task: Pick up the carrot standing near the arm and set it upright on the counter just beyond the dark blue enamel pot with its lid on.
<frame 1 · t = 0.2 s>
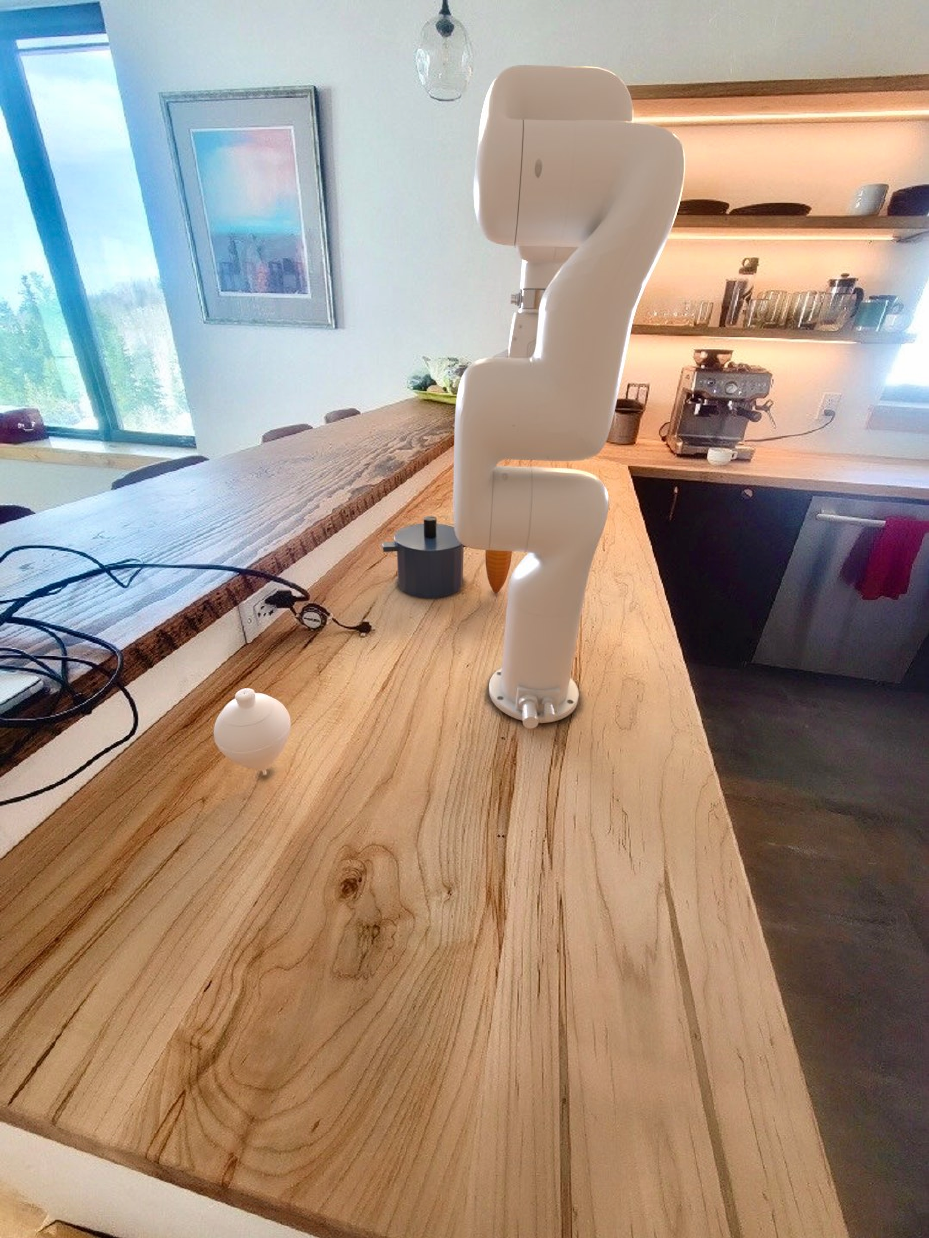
hand: (531, 411, 94), 31 cm above the worktop, tool pointing down, fingers open, 9 cm apart
pot lid: (430, 538, 95), point 9 cm above the worktop, touching pot
carrot: (495, 594, 97), on the worktop
spinning top: (265, 775, 58), on the worktop
pot: (430, 583, 100), on the worktop
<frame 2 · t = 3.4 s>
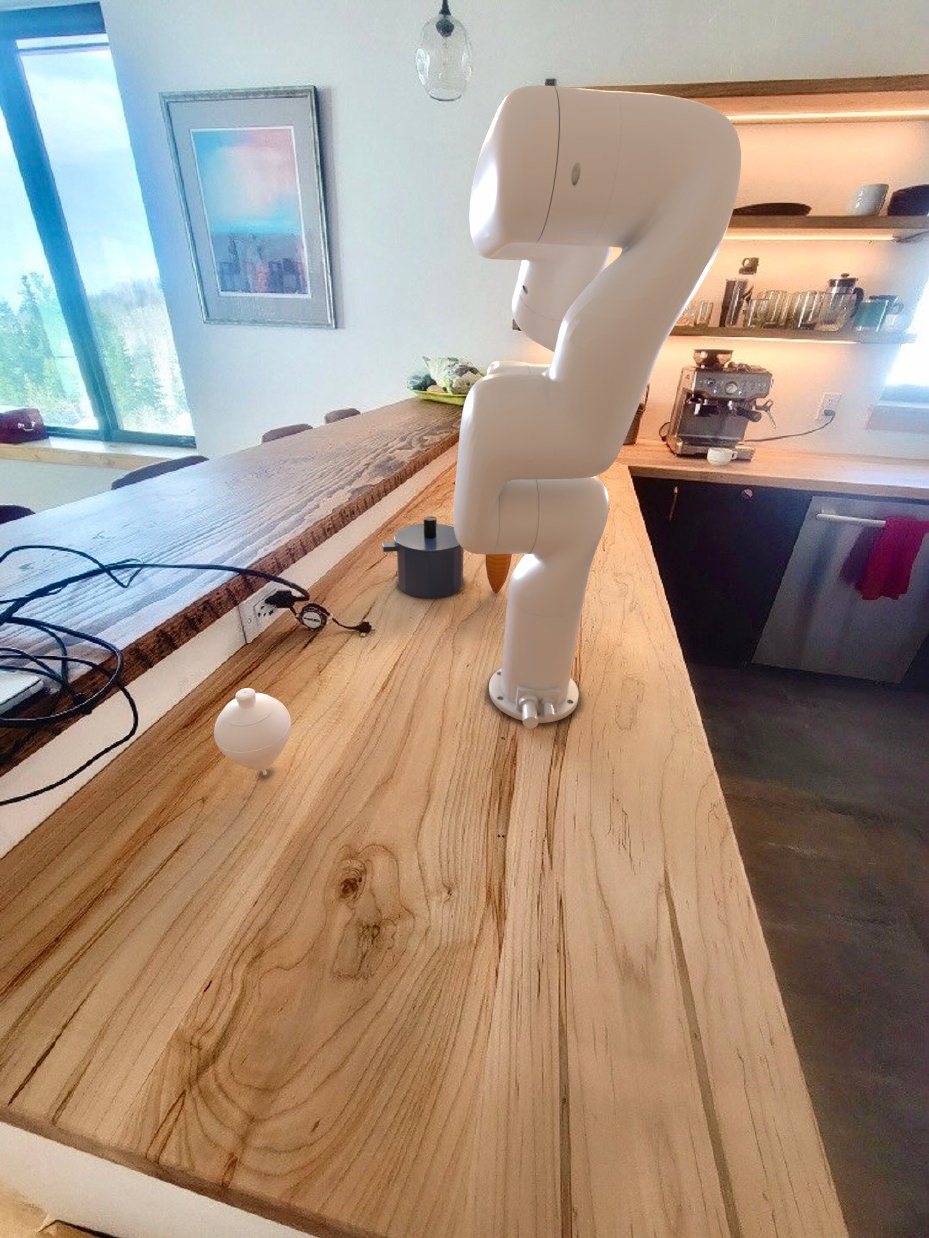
hand: (499, 546, 92), 10 cm above the worktop, tool pointing down, fingers closed on carrot, 4 cm apart
carrot: (495, 594, 97), on the worktop, touching gripper
everything else where it was.
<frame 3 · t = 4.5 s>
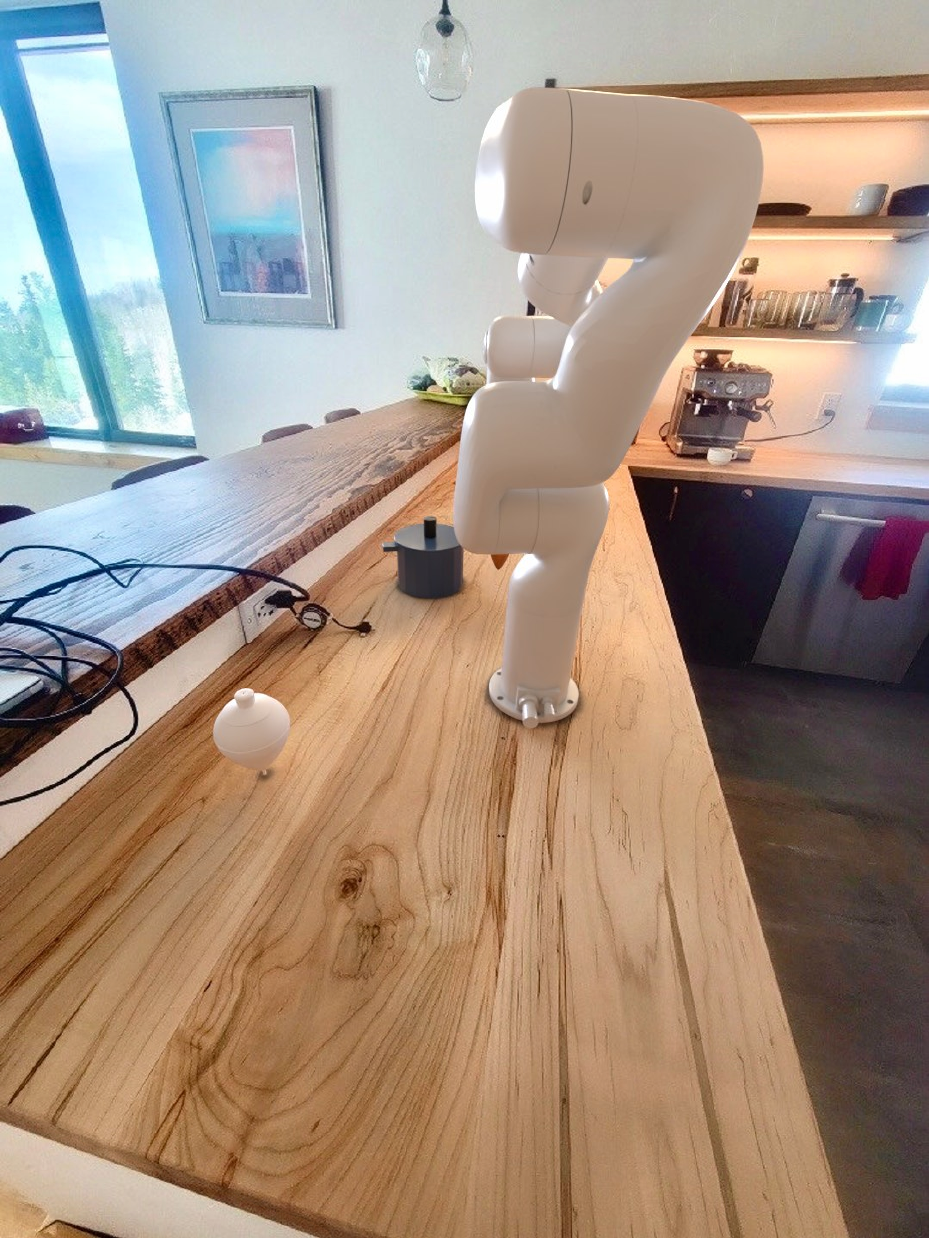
hand: (501, 518, 89), 15 cm above the worktop, tool pointing down, fingers closed on carrot, 4 cm apart
carrot: (498, 570, 94), point 5 cm above the worktop, touching gripper
everything else where it was.
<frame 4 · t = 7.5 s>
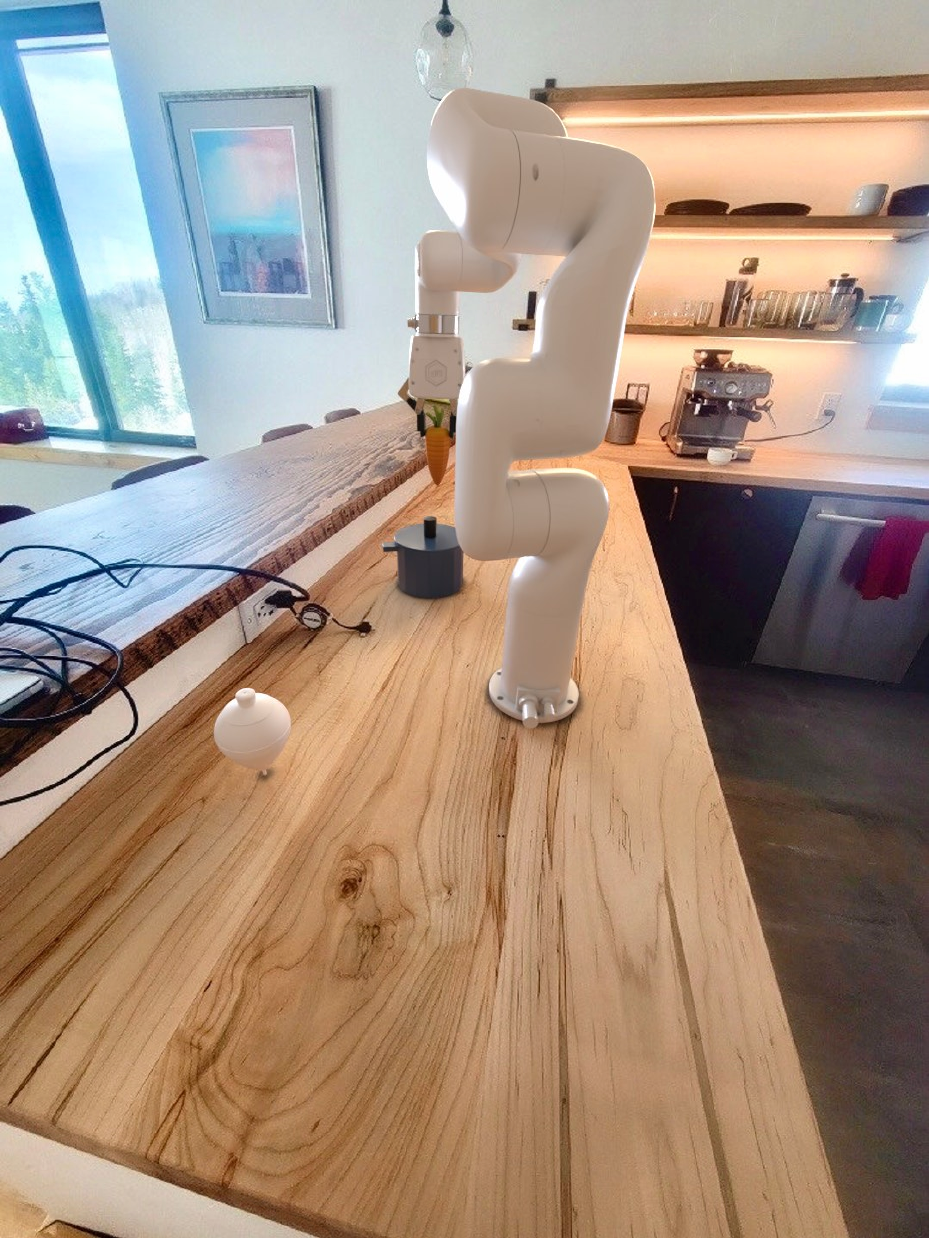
hand: (437, 435, 97), 26 cm above the worktop, tool pointing down, fingers closed on carrot, 4 cm apart
carrot: (437, 486, 102), point 16 cm above the worktop, touching gripper
everything else where it was.
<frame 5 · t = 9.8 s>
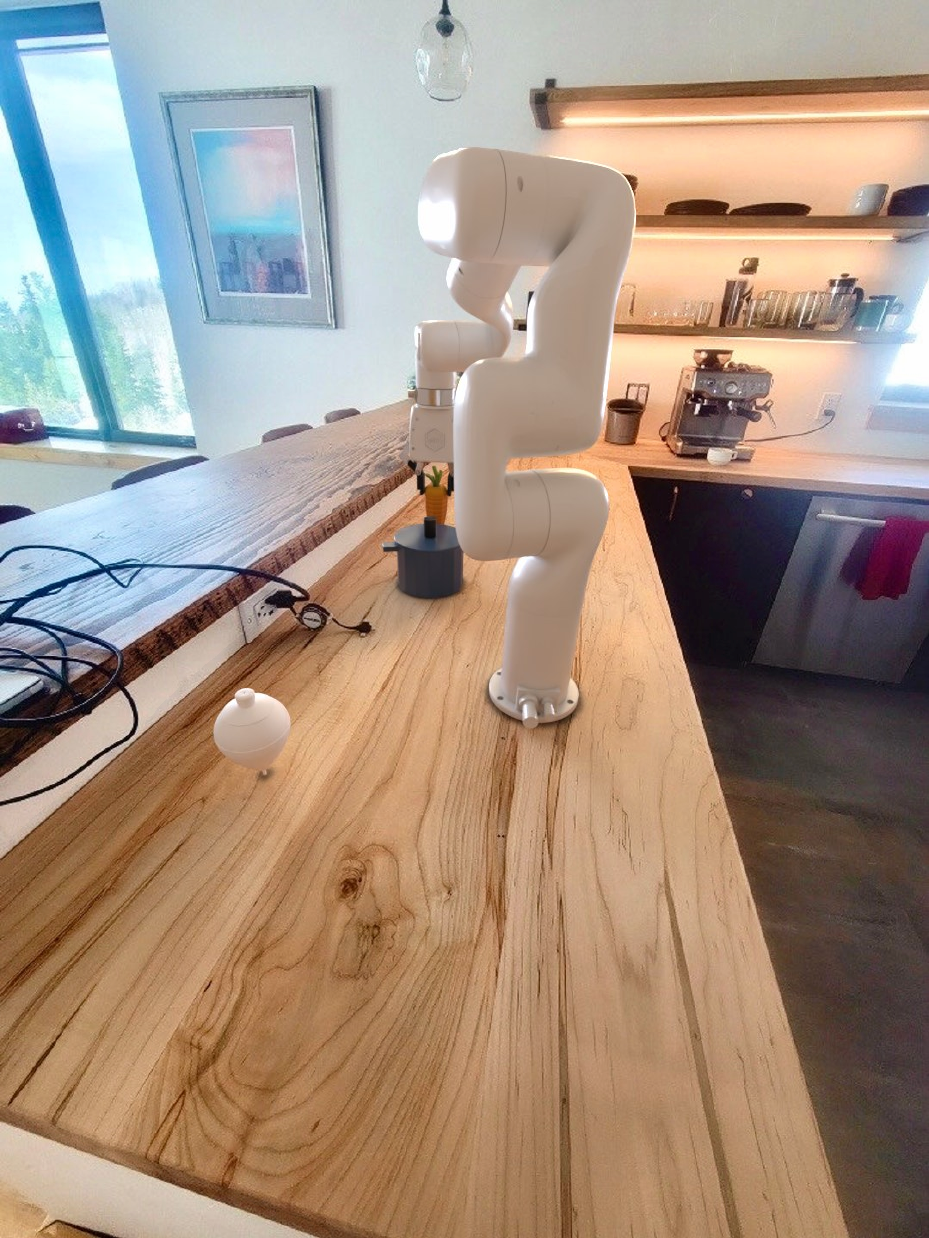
hand: (436, 493, 103), 15 cm above the worktop, tool pointing down, fingers closed on carrot, 4 cm apart
carrot: (436, 538, 108), point 5 cm above the worktop, touching gripper
everything else where it was.
when the fingers open (10 cm above the worktop, at t = 11.4 s): carrot stays where it is, on the worktop.
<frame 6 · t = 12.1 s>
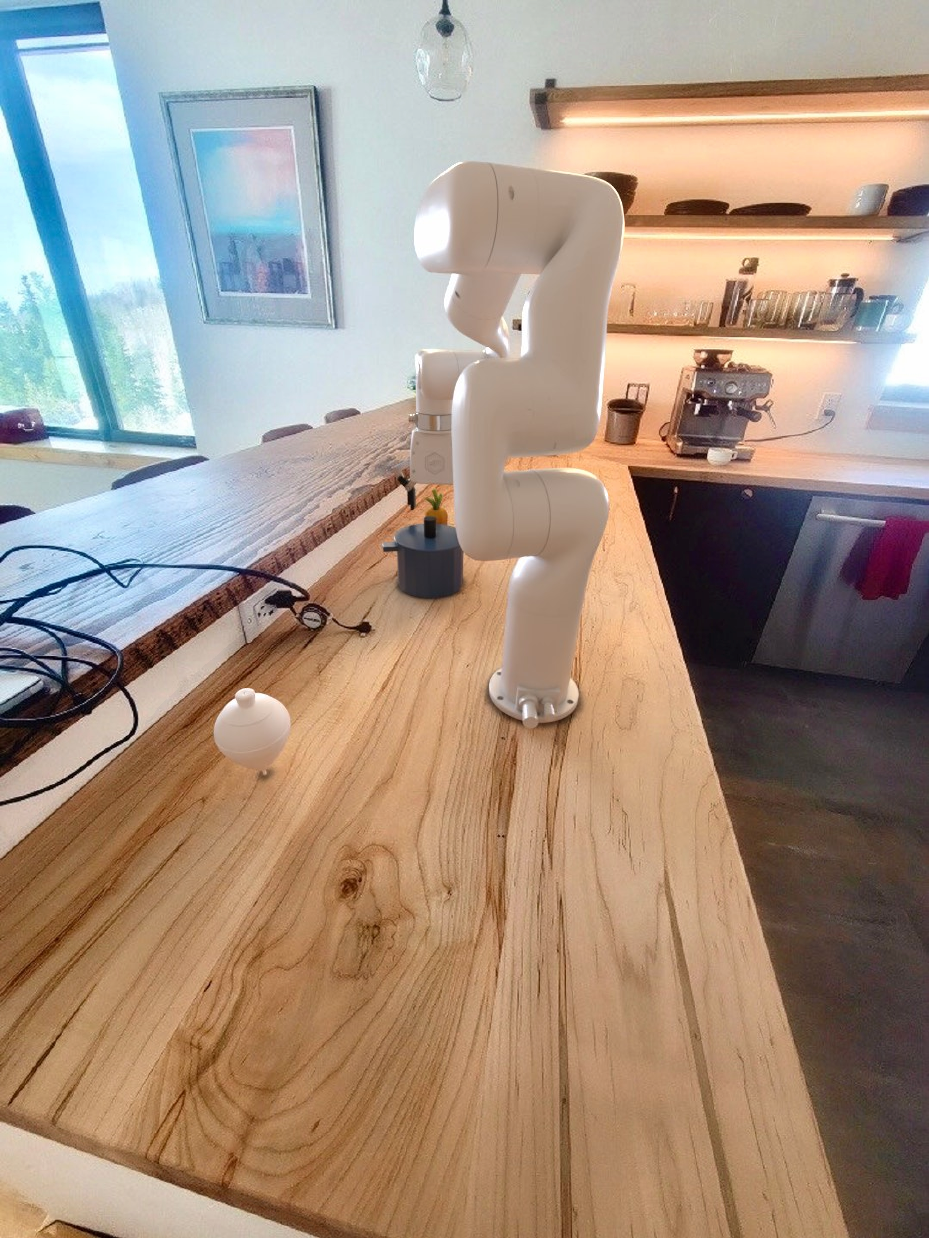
hand: (436, 509, 105), 11 cm above the worktop, tool pointing down, fingers open, 9 cm apart
carrot: (436, 559, 111), on the worktop
everything else where it was.
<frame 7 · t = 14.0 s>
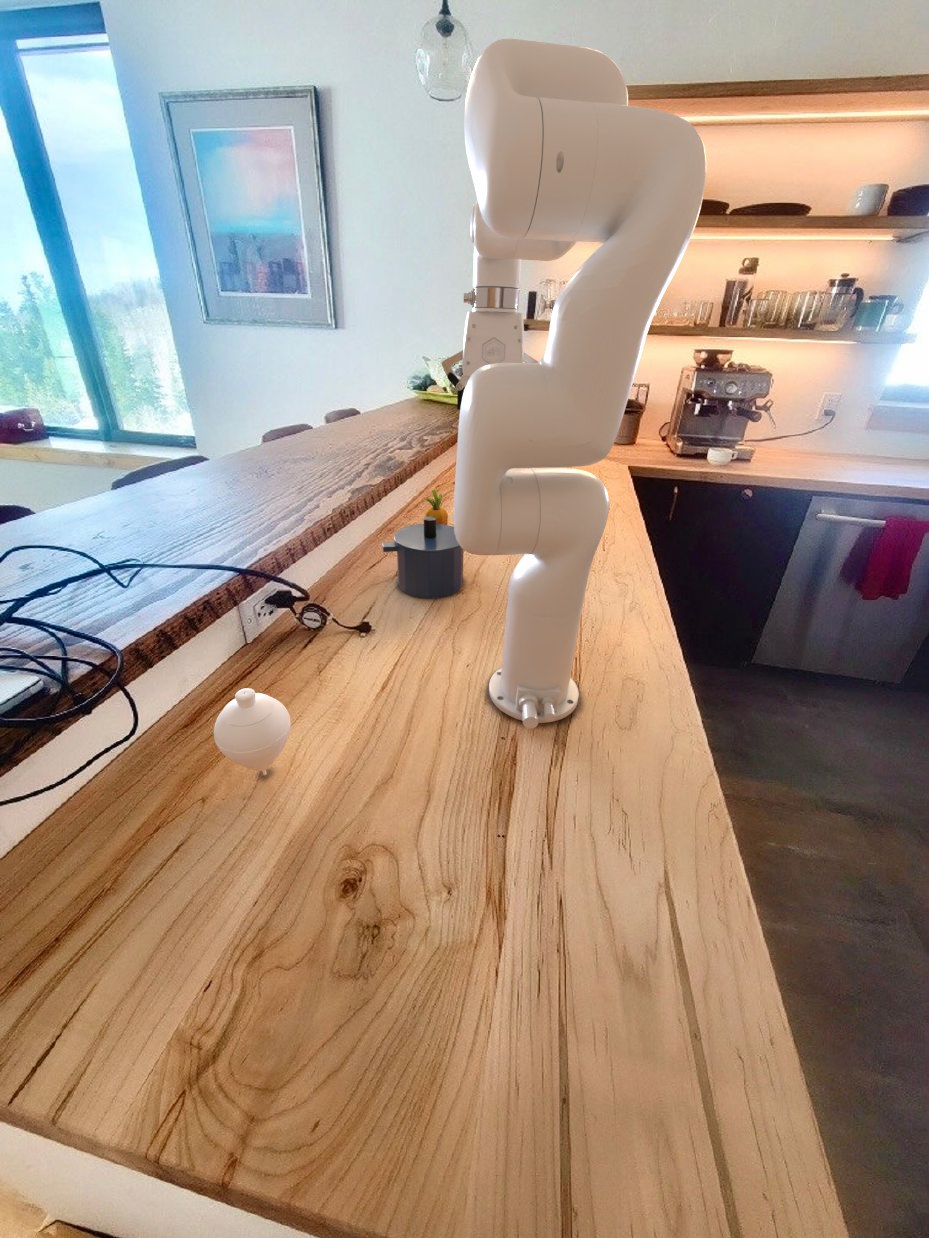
hand: (489, 415, 90), 31 cm above the worktop, tool pointing down, fingers open, 9 cm apart
nothing on the worktop moved.
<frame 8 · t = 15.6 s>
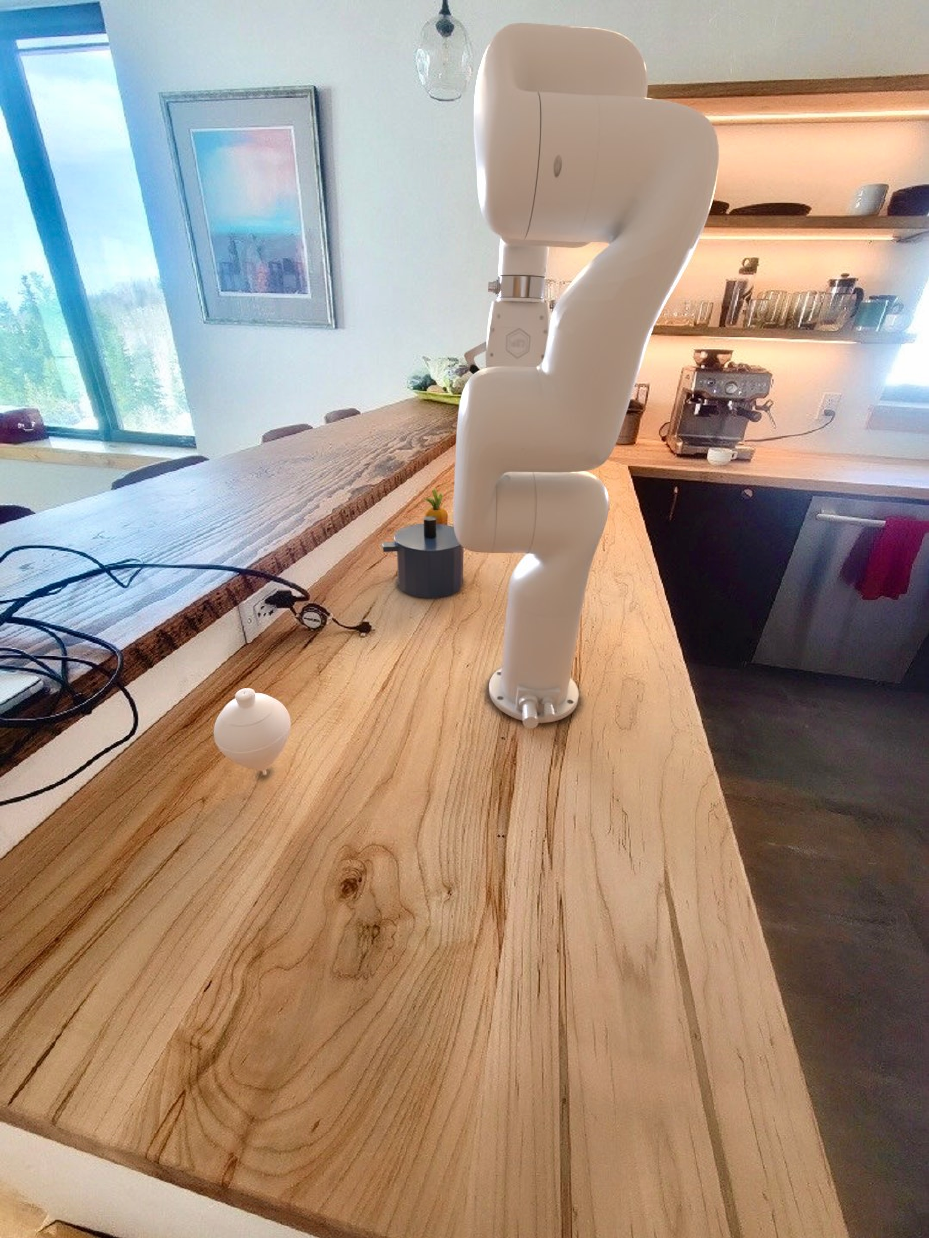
hand: (512, 408, 88), 32 cm above the worktop, tool pointing down, fingers open, 9 cm apart
nothing on the worktop moved.
at the end: carrot inside the target area on the worktop beside the pot (0.2 cm from its centre), on the worktop; carrot tilted 0°; the gripper is holding nothing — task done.
